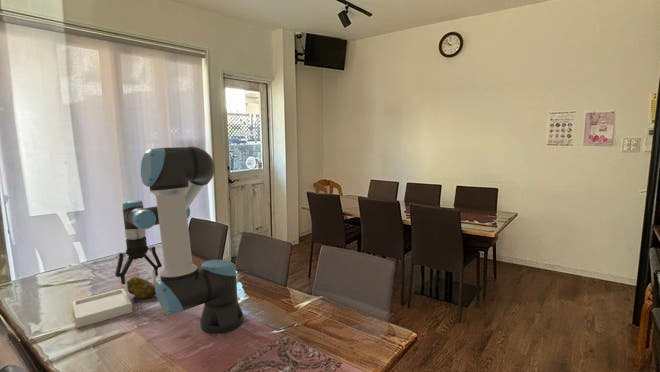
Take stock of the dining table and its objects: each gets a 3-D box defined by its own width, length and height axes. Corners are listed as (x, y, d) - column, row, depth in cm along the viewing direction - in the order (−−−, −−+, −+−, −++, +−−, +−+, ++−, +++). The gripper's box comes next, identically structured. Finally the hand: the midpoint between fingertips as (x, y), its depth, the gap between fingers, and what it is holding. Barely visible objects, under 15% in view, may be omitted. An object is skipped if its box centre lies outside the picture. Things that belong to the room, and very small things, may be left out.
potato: (142, 303, 148) (141, 284, 147) (123, 297, 154) (121, 279, 153) (160, 295, 155) (159, 277, 155) (140, 290, 161) (139, 273, 160)
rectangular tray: (132, 312, 141) (131, 303, 141) (77, 327, 130) (75, 318, 130) (124, 296, 155) (123, 288, 155) (73, 309, 144) (72, 300, 144)
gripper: (162, 230, 161) (166, 277, 164) (103, 240, 147) (108, 292, 150) (167, 233, 155) (171, 282, 158) (105, 244, 141) (111, 298, 144)
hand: (140, 287), depth 154 cm, fingers open, 10 cm apart
